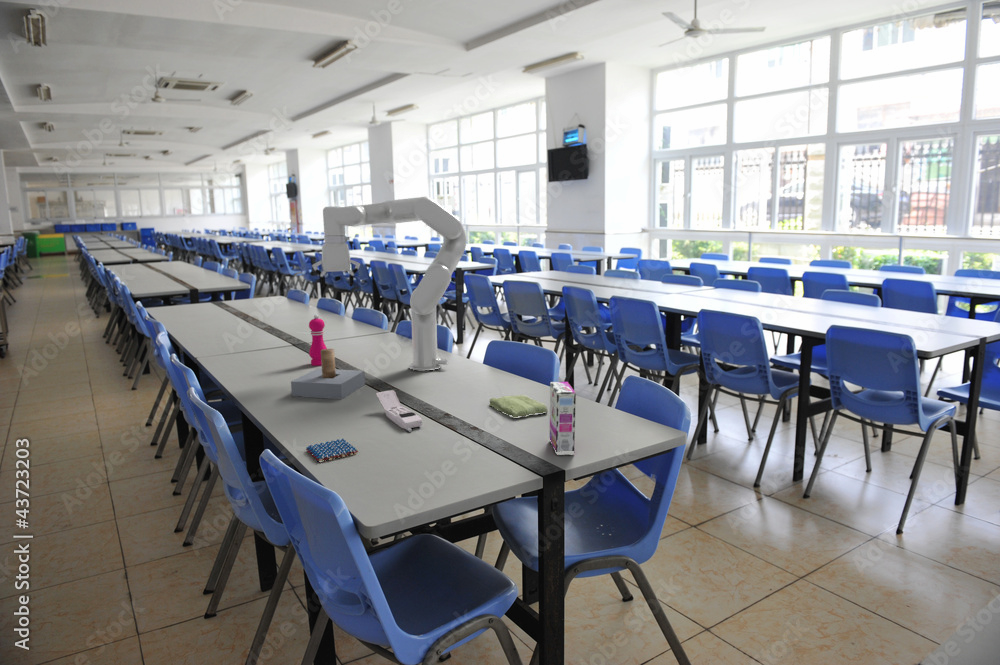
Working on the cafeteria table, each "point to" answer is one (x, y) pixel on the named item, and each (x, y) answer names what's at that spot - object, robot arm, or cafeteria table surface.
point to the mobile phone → (398, 411)
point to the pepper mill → (316, 340)
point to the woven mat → (331, 450)
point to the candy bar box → (562, 416)
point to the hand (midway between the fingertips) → (337, 286)
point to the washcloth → (517, 405)
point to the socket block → (328, 384)
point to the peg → (328, 363)
